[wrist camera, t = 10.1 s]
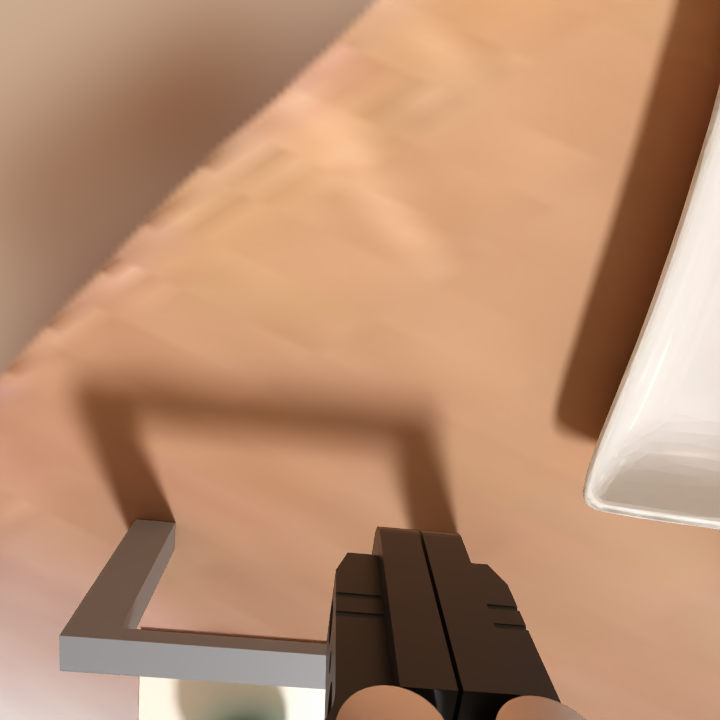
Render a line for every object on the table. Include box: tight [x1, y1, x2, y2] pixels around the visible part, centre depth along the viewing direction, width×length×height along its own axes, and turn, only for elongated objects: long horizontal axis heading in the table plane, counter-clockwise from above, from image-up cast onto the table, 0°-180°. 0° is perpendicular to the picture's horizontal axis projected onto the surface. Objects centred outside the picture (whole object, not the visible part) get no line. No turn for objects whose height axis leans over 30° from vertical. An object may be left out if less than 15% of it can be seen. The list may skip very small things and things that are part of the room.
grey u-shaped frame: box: [59, 519, 326, 689], centre depth 25 cm, size 17×2×8 cm, turn 83°
